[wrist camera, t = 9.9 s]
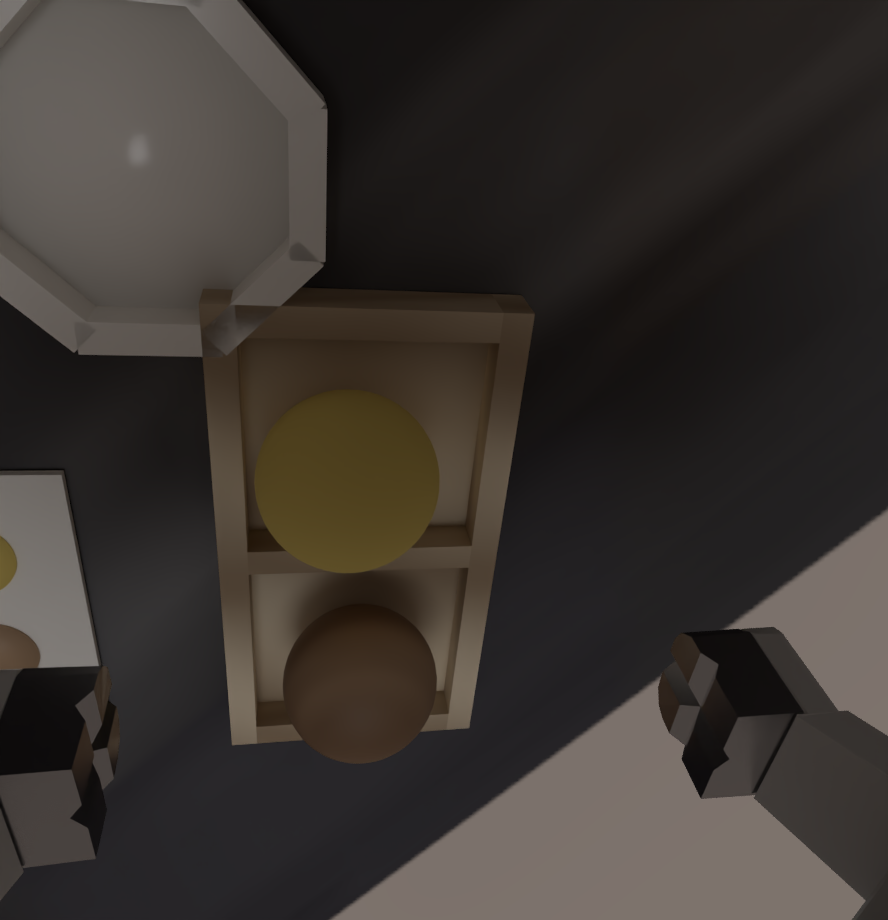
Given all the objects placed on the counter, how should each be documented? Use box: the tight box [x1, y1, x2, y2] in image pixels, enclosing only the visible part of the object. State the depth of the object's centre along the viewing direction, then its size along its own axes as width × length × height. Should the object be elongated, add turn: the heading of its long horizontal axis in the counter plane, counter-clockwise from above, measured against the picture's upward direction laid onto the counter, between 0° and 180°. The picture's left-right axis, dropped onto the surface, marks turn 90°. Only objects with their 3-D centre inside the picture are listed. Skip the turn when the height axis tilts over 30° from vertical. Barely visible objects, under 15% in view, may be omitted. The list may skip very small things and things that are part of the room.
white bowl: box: [0, 0, 327, 357], centre depth 14 cm, size 7×7×1 cm
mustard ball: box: [254, 389, 440, 573], centre depth 17 cm, size 4×4×4 cm
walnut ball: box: [283, 604, 437, 764], centre depth 20 cm, size 4×4×4 cm
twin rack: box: [199, 287, 535, 745], centre depth 20 cm, size 13×7×1 cm, turn 175°
